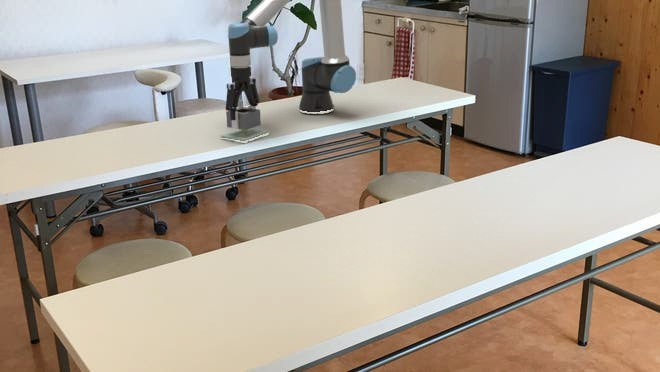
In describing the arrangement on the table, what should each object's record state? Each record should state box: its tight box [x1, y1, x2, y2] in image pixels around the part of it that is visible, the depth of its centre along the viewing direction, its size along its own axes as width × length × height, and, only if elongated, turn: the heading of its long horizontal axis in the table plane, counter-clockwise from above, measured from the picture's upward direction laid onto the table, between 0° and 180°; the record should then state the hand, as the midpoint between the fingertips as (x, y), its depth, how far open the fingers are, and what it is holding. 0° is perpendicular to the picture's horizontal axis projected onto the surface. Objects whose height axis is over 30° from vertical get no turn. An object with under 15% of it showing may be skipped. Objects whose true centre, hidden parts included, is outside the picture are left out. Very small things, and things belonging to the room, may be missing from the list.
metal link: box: [225, 106, 262, 130], centre depth 267 cm, size 9×9×6 cm
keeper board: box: [220, 128, 269, 141], centre depth 268 cm, size 14×12×9 cm
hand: (243, 125), depth 268 cm, fingers closed on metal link, 9 cm apart
